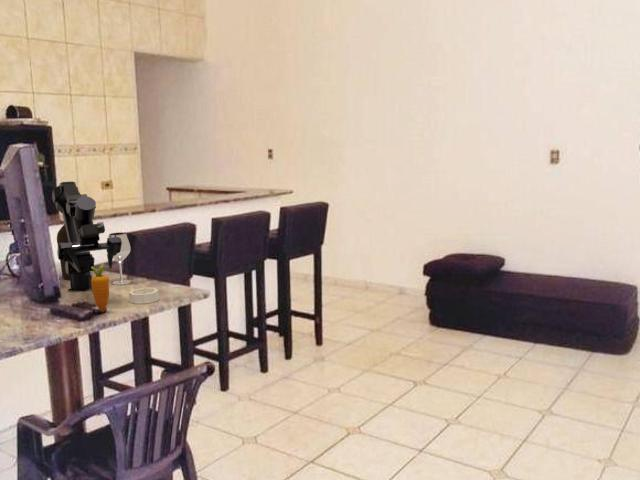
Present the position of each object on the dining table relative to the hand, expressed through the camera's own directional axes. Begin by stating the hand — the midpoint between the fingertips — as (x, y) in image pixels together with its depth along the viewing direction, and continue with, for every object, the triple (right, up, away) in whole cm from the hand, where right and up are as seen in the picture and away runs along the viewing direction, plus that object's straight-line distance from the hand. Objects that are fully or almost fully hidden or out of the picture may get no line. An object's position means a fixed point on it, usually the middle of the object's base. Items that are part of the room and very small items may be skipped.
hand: (95, 269), depth 190 cm
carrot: (+3, -13, -2) cm, 14 cm away
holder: (+12, -10, +10) cm, 19 cm away
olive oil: (-24, -5, +45) cm, 51 cm away
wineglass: (-3, -6, +35) cm, 35 cm away
